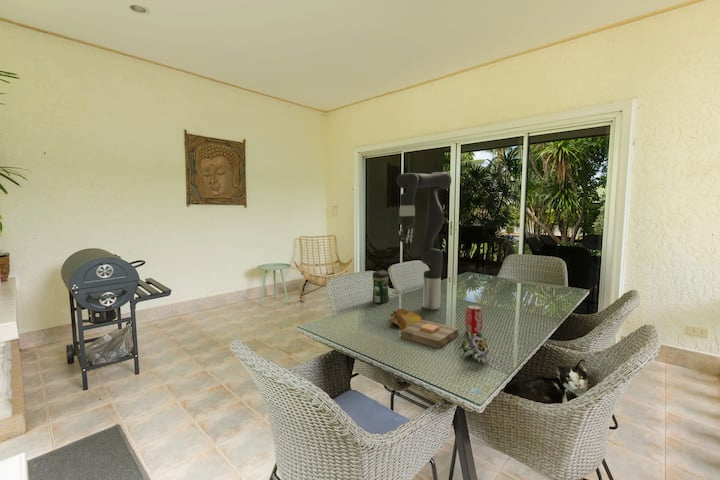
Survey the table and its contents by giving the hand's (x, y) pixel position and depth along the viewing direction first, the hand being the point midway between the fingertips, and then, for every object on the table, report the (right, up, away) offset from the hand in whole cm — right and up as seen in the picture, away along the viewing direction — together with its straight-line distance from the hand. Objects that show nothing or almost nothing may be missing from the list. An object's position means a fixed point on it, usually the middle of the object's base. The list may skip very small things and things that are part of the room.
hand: (406, 250), depth 167 cm
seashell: (-2, -36, -3) cm, 36 cm away
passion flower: (+19, -40, -40) cm, 60 cm away
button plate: (+7, -37, -18) cm, 42 cm away
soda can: (+28, -37, -15) cm, 48 cm away
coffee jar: (-11, -32, +35) cm, 49 cm away
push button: (+7, -36, -19) cm, 41 cm away
